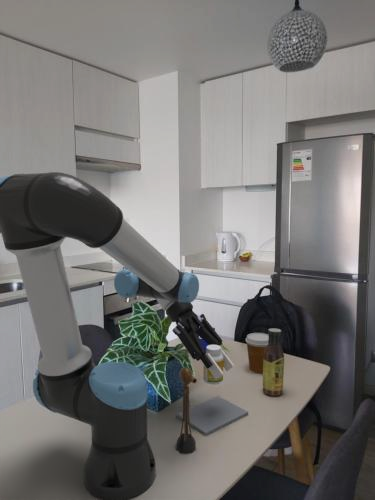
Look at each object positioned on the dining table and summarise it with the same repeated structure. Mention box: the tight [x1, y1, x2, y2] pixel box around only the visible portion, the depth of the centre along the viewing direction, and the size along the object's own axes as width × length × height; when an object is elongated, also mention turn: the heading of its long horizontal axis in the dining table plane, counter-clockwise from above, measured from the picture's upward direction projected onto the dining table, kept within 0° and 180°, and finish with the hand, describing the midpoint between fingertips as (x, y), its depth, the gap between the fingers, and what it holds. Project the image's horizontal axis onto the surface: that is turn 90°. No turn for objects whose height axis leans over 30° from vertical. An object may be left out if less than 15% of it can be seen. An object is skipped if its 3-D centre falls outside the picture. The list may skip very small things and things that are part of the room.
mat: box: [175, 395, 249, 437], centre depth 109 cm, size 16×12×1 cm
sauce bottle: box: [262, 327, 285, 397], centre depth 122 cm, size 6×6×20 cm
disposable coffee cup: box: [245, 332, 269, 374], centre depth 139 cm, size 10×10×12 cm
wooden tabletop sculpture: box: [175, 366, 197, 455], centre depth 93 cm, size 6×5×20 cm
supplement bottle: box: [203, 345, 224, 385], centre depth 108 cm, size 5×5×10 cm
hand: (225, 372), depth 106 cm, fingers closed on supplement bottle, 5 cm apart
